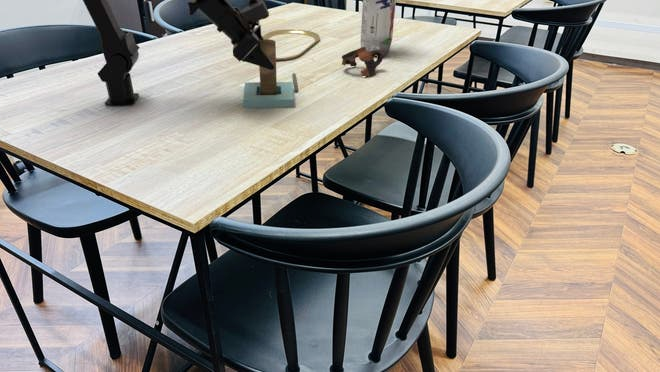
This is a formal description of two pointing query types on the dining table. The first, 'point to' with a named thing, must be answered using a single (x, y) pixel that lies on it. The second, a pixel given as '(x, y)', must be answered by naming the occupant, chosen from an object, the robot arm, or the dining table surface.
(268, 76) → the dowel
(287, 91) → the square ring
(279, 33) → the gold oval loop
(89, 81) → the dining table surface
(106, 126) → the dining table surface
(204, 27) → the dining table surface
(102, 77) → the robot arm
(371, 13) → the juice carton
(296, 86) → the grey thin rod
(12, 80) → the dining table surface
